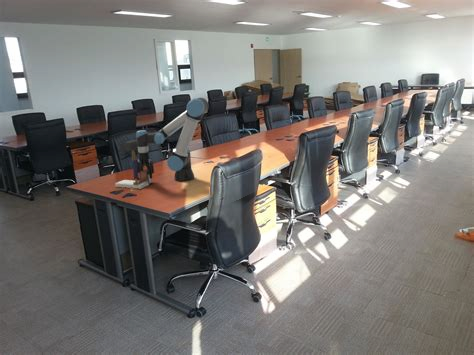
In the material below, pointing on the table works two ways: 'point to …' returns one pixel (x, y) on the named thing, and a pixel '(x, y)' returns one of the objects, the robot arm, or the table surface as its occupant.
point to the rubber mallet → (132, 147)
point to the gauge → (142, 177)
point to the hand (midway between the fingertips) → (146, 182)
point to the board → (131, 184)
